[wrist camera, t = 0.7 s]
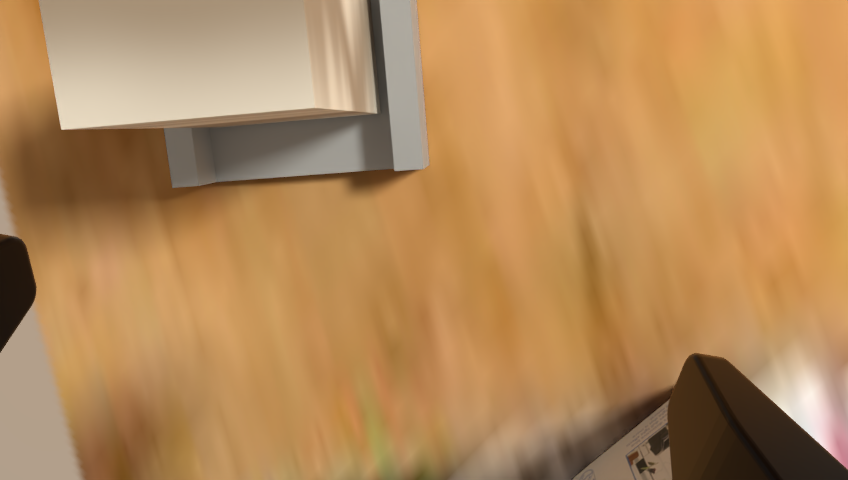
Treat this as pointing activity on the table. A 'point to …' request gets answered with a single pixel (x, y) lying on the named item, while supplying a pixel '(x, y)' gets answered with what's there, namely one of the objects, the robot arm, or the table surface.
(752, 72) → the table surface
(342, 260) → the table surface
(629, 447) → the light bulb box
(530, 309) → the table surface
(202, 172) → the channel
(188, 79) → the cream block
